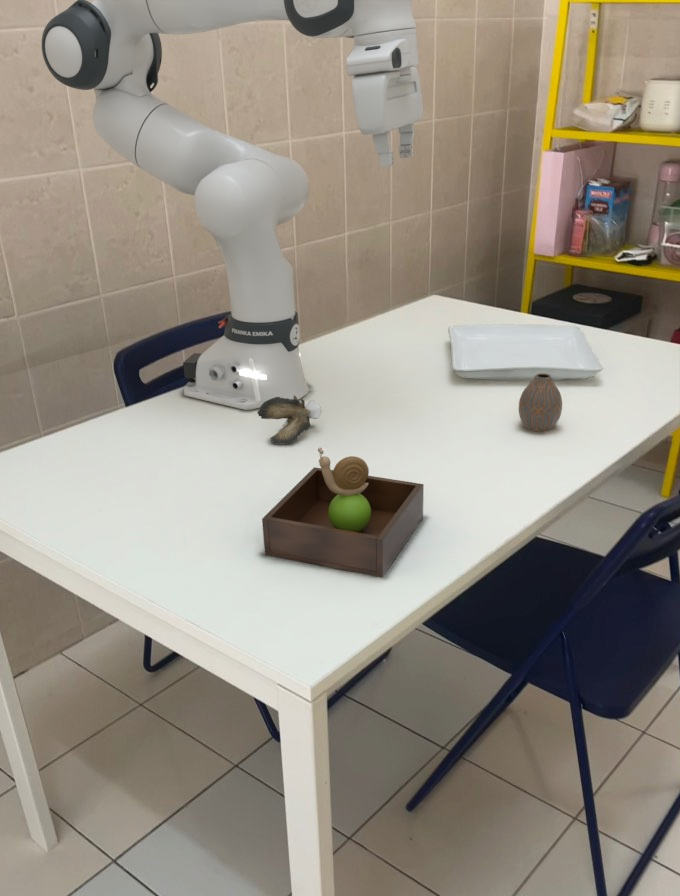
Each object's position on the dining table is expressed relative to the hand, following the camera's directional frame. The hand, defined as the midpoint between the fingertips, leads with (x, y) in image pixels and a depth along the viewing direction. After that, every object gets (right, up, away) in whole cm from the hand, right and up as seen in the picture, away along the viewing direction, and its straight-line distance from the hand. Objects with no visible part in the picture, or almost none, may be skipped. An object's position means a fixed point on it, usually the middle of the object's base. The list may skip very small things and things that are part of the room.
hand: (397, 161), depth 130 cm
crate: (-7, -56, -18) cm, 59 cm away
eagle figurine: (-17, -39, +11) cm, 44 cm away
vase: (+23, -38, +13) cm, 47 cm away
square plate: (+25, -22, +41) cm, 53 cm away
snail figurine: (-7, -56, -18) cm, 59 cm away
